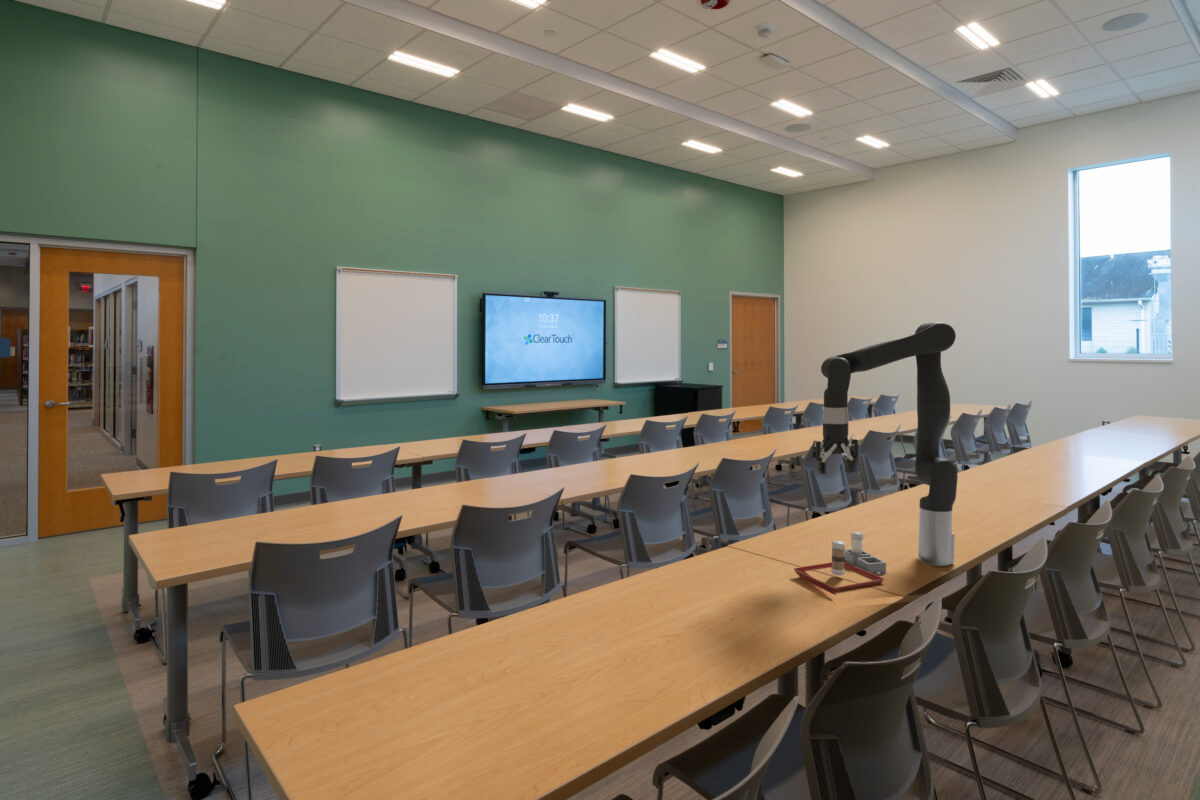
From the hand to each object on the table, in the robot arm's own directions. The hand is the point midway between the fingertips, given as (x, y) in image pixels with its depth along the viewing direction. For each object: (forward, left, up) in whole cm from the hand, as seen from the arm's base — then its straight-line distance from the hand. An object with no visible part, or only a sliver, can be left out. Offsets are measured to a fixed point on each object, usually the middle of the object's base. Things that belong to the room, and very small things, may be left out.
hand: (835, 472), depth 204 cm
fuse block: (-5, +8, -29) cm, 30 cm away
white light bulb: (-5, +4, -27) cm, 28 cm away
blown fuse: (+8, +16, -26) cm, 32 cm away
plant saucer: (+8, +16, -30) cm, 35 cm away
